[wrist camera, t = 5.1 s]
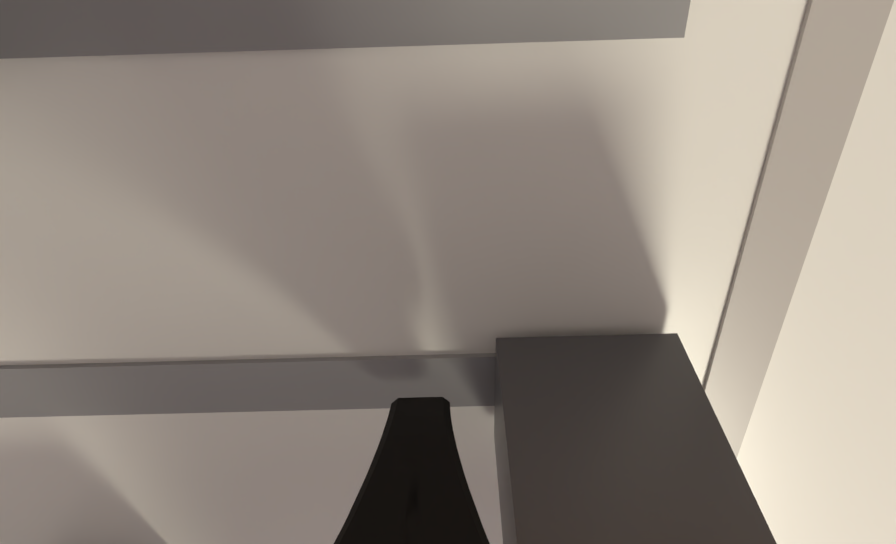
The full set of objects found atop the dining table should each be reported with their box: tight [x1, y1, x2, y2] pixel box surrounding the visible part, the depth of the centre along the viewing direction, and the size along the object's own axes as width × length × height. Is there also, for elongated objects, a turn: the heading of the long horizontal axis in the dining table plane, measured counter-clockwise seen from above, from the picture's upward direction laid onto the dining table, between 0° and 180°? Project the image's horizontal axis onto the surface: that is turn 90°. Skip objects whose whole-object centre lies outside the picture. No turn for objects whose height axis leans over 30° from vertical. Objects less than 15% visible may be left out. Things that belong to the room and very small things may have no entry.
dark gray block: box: [494, 333, 777, 544], centre depth 10 cm, size 2×3×4 cm
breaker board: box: [0, 0, 896, 544], centre depth 12 cm, size 19×28×2 cm
